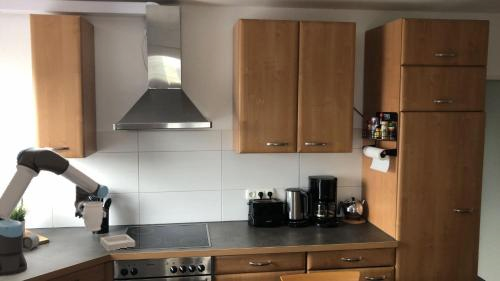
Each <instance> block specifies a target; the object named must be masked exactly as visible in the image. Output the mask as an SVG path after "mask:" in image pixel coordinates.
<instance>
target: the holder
mask: <svg viewBox="0 0 500 281" xmlns="http://www.w3.org/2000/svg"><path fill="white" fill-rule="evenodd" d="M99 242H100V243H99V244H100V245H101V246H102V248H104V249H105V250H106V251H107V252H111V251H110V250H113V251H116V250H115V249H120V248H127V247H134V246H135V247H136V240H134V239H133V238H132V237H130V236H129V235H128V234H120V235H119V234H118V235H109V236H104V237H100V241H99ZM135 247H134V248H135ZM127 249H128V248H127ZM120 250H121V249H120Z"/></svg>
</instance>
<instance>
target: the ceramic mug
mask: <svg viewBox="0 0 500 281" xmlns="http://www.w3.org/2000/svg"><path fill="white" fill-rule="evenodd" d="M39 243H40V237H39V236H38V235H37V234H35V233H31V234H28V235H26V236H23V251H29V250H31V249H34V248H35V247H36V246H38V245H39Z"/></svg>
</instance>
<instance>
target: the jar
mask: <svg viewBox="0 0 500 281" xmlns="http://www.w3.org/2000/svg"><path fill="white" fill-rule="evenodd" d="M83 205H84V210H83V213H84V214H85V220H84V219H83V223H84V226H85V229H84V230H85V231H86V232H98V231H100V230H102V228H101V227H102V226H101V225H102V224H103V218H104V217H103V205H104V202H103V201H98V200H97V201H89V202H85V203H83Z"/></svg>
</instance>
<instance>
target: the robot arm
mask: <svg viewBox="0 0 500 281" xmlns="http://www.w3.org/2000/svg"><path fill="white" fill-rule="evenodd" d="M15 167H16V168H15V169H16V172H15V173H14V175H13V176H12V178H11V180H10V182H9V183H8V185H7V187H6V188H5V190H4V191H3V193H2V195H1V196H0V276H3V277H5V276H12V275H13V276H14V275H18V274H20V273H23V272H25V271H26V270H27V269H28V262H27V259H26V258H25V255H24V250H23V237H24V226H23V223H22V222H21V221H20V220H15V219H10V218H11V217H12V215H13V213H14V212H15V209H16V208H17V206H18V205H19V203H20V201H21V199H22V197H23V196H24V194H25V192H26V191H27V188H29V185H30V183H31V182H32V180H33V179H34V178H36V177H38V176H39V174H40V173H41V171H44V172H50V173H52V174H55V175H56V176H62V177H63V178H64V179H66V180H68V181H69V182H71V183H72V184H74V185H75V201H74V207H75V212H74V217H75V218H78V219H82V220H83V221H84V220H85V214H84V213H83V210H84V205H83V203H85V202H90V199H89V198H90V197H91V198H92V197H93V198H98V199H104V198H106V197H107V196H108V194H109V187H108V186H107V185H105V184H100V183H98V182H97V181H95V180H94V179H93V178H91V177H90V176H88V175H87V174H85V173H84V172H82V171H81V170H79V169H78V168H76V167H75V166H74V165H73V164H71V163H70V160H68V158H65V157H64V156H63V155H61V154H60V153H58V152H57V151H54V150H52V149H49V148H41V147H35V146H34V147H33V146H32V147H26V148H22V149H21V150H20V151H19V152H18V153H17V156H16V166H15ZM108 212H109V211H108V209H107V208H103V218H107V215H108Z"/></svg>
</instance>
